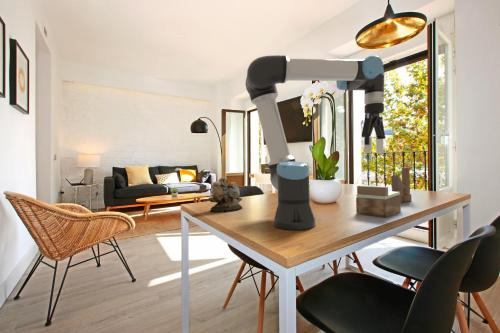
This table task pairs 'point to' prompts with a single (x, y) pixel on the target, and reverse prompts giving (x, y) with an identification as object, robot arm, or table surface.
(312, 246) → the table surface
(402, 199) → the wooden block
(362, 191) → the lid
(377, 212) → the toolbox
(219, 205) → the owl figurine
